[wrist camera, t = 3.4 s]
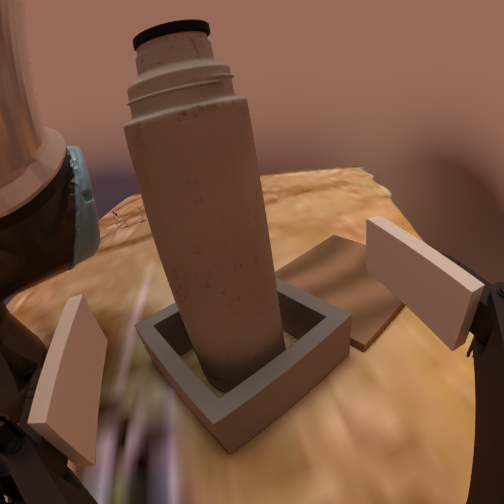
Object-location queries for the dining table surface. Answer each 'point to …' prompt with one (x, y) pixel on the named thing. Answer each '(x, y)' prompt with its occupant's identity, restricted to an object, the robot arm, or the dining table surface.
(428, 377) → the dining table surface
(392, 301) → the board
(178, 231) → the thermos bottle
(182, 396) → the collar
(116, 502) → the dining table surface
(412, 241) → the robot arm
